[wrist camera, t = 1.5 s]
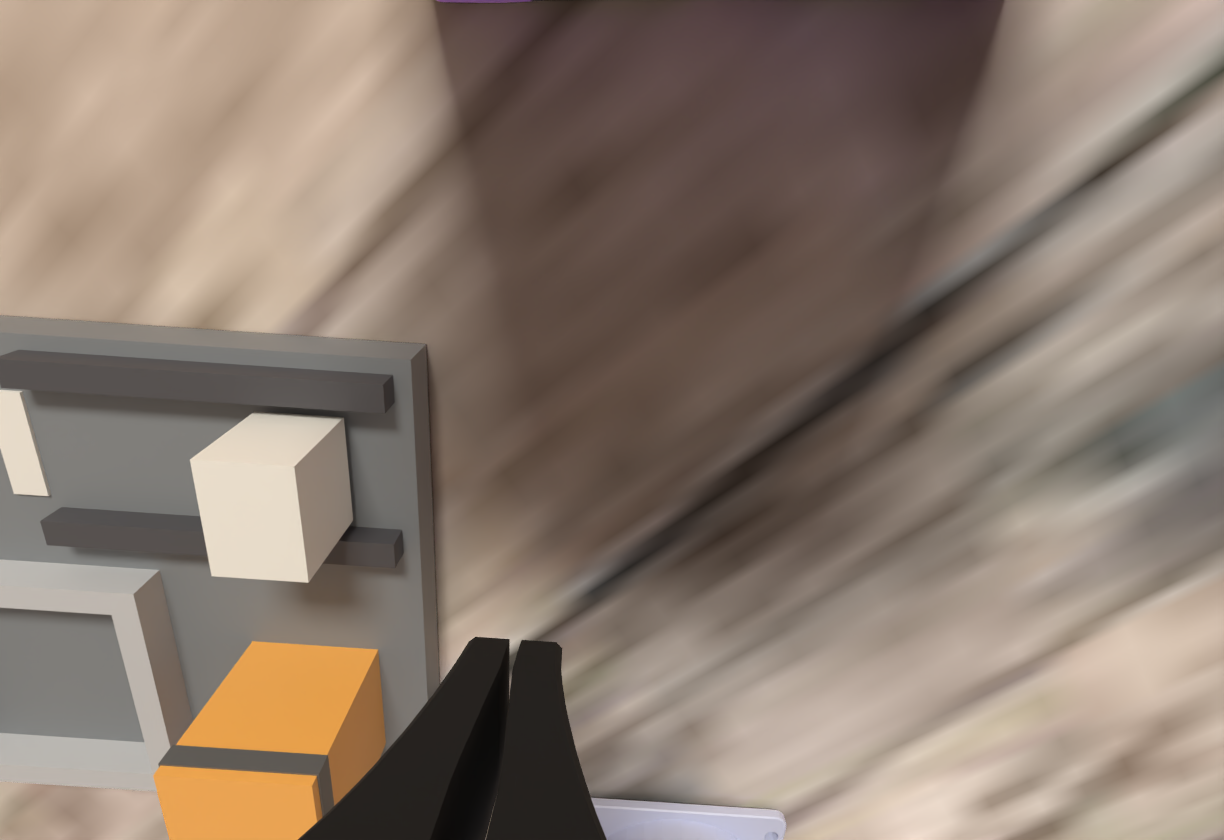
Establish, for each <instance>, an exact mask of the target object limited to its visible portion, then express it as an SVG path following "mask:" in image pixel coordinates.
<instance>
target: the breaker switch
mask: <svg viewBox="0 0 1224 840" xmlns="http://www.w3.org/2000/svg"><path fill="white" fill-rule="evenodd" d="M190 464H191V469H192V474H193V480H194V485H195V490H196V496H197V501H198V506H199V512H200V517H201V522H202V528H203V533H204V538H205V544H206V549H207V554H208V560H209V565H210V570H211V576H216V577H231V578H246V579H261V580H276V581H291V582H306V583H309V581H310V580H311V579H312V577H313V576H314V574H315V573H316V572H317V570H318V569H319V567H320V566H321V565H322V563H323V562H324V560H325V559H326V558H327V556H328V555H329V553H330V552H331V551H332V549H333V548H334V546H335V545H336V544H337V542H338V541H339V539H340V538H341V537H342V535H343V534H344V532H345V531H346V530H347V528H348V527H349V525H350V524H351V523H352V521H353V513H352V502H351V491H350V480H349V469H348V458H347V447H346V436H345V425H344V417H331V416H316V415H302V414H287V413H272V412H257V411H255V412H253V413H252V414H251V415H249V416H248V417H247V418H245V419H244V420H243V421H241V422H240V423H238V424H237V425H236V426H234V427H233V428H232V429H230V430H229V431H228V432H226V433H225V434H224V435H222V436H221V437H220V438H218V439H217V440H216V441H214V442H213V443H212V444H210V445H209V446H208V447H206V448H205V449H203V450H202V451H201V452H199V453H198V454H197V455H195V456H194V457H193V458H191V459H190Z"/></svg>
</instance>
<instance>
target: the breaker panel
mask: <svg viewBox="0 0 1224 840" xmlns="http://www.w3.org/2000/svg"><path fill="white" fill-rule="evenodd" d="M255 411H257V412H272V413H287V414H302V415H316V416H331V417H344V425H345V436H346V447H347V458H348V469H349V480H350V491H351V502H352V513H353V521H352V523H351V524H350V525H349V527H348V528H347V530H346V531H345V532H344V534H343V535H342V537H341V538H340V539H339V541H338V542H337V544H336V545H335V546H334V548H333V549H332V551H331V552H330V553H329V555H328V556H327V558H326V559H325V560H324V562H323V563H322V565H321V566H320V567H319V569H318V570H317V572H316V573H315V574H314V576H313V577H312V579H311V580H310V581H309V583H306V582H291V581H276V580H261V579H246V578H231V577H216V576H211V570H210V565H209V560H208V554H207V549H206V544H205V538H204V533H203V528H202V522H201V517H200V512H199V506H198V501H197V496H196V490H195V485H194V480H193V474H192V469H191V464H190V459H191V458H193V457H194V456H195V455H197V454H198V453H199V452H201V451H202V450H203V449H205V448H206V447H208V446H209V445H210V444H212V443H213V442H214V441H216V440H217V439H218V438H220V437H221V436H222V435H224V434H225V433H226V432H228V431H229V430H230V429H232V428H233V427H234V426H236V425H237V424H238V423H240V422H241V421H243V420H244V419H245V418H247V417H248V416H249V415H251V414H252V413H253V412H255ZM252 641H257V642H272V643H287V644H302V645H317V646H332V647H347V648H363V649H378V653H379V665H380V677H381V690H382V702H383V714H384V726H385V739H386V744H385V747H384V749H383V752H382V754H381V757H382V756H383V754H384V753H385V752H386V751H387V750H388V749H389V748H390V746H391V745H392V744H393V743H394V742H395V741H396V740H397V738H398V737H399V736H400V735H401V734H402V733H403V732H404V730H405V729H406V728H407V727H408V726H409V724H410V723H411V722H412V720H413V719H414V718H415V717H416V715H417V714H418V713H419V712H420V710H421V709H422V708H423V707H424V705H425V704H426V703H427V701H428V700H429V699H430V698H431V696H432V695H433V694H434V692H435V691H436V690H437V688H438V687H439V686H440V676H439V651H438V627H437V602H436V577H435V552H434V528H433V503H432V478H431V453H430V428H429V404H428V379H427V354H426V344H417V343H402V342H387V341H372V340H357V339H343V338H328V337H313V336H298V335H283V334H269V333H254V332H239V331H224V330H209V329H195V328H180V327H165V326H150V325H135V324H121V323H106V322H91V321H76V320H61V319H47V318H32V317H17V316H2V315H0V781H2V782H17V783H33V784H48V785H63V786H79V787H94V788H109V789H125V790H140V791H155V792H157V789H156V785H155V782H154V778H153V775H154V773H155V772H156V771H157V769H158V768H159V766H158V763H159V762H160V761H161V759H162V758H163V757H164V755H165V754H166V753H167V751H168V750H169V749H170V747H171V746H172V745H176V744H177V742H178V741H179V740H180V738H181V737H182V736H183V734H184V733H185V732H186V730H187V729H188V728H189V726H190V725H191V724H192V722H193V721H194V720H195V718H196V717H197V715H198V714H199V713H200V711H201V710H202V709H203V707H204V706H205V705H206V703H207V702H208V701H209V699H210V698H211V697H212V695H213V694H214V693H215V691H216V690H217V689H218V687H219V686H220V684H221V683H222V682H223V680H224V679H225V678H226V676H227V675H228V674H229V672H230V671H231V670H232V668H233V667H234V666H235V664H236V663H237V662H238V660H239V659H240V657H241V656H242V655H243V653H244V652H245V651H246V649H247V648H248V647H249V645H250V644H251V643H252ZM381 757H380V758H381Z"/></svg>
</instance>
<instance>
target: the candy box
mask: <svg viewBox="0 0 1224 840" xmlns="http://www.w3.org/2000/svg"><path fill="white" fill-rule="evenodd" d="M436 1H439V2H461V3H507V2H528V1H542V0H436Z"/></svg>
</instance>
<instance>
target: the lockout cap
mask: <svg viewBox="0 0 1224 840" xmlns="http://www.w3.org/2000/svg"><path fill="white" fill-rule="evenodd" d="M385 744H386V739H385V726H384V714H383V702H382V690H381V677H380V665H379V653H378V649H363V648H347V647H332V646H317V645H302V644H287V643H272V642H257V641H252V643H251V644H250V645H249V647H248V648H247V649H246V651H245V652H244V653H243V655H242V656H241V657H240V659H239V660H238V662H237V663H236V664H235V666H234V667H233V668H232V670H231V671H230V672H229V674H228V675H227V676H226V678H225V679H224V680H223V682H222V683H221V684H220V686H219V687H218V689H217V690H216V691H215V693H214V694H213V695H212V697H211V698H210V699H209V701H208V702H207V703H206V705H205V706H204V707H203V709H202V710H201V711H200V713H199V714H198V715H197V717H196V718H195V720H194V721H193V722H192V724H191V725H190V726H189V728H188V729H187V730H186V732H185V733H184V734H183V736H182V737H181V738H180V740H179V741H178V742H177V744H176V745H172V746H171V747H170V749H169V750H168V751H167V753H166V754H165V755H164V757H163V758H162V759H161V761H160V762H159V763H158V766H159V768H158V769H157V771H156V772H155V773H154V775H153V778H154V782H155V785H156V789H157V793H158V797H159V801H160V805H161V808H162V812H163V816H164V820H165V824H166V828H167V831H168V835H169V839H170V840H298V839H299V838H300V837H301V836H302V835H303V834H305V833H306V832H307V831H308V830H309V829H310V828H311V827H312V826H313V825H315V824H316V823H317V822H318V821H319V820H320V819H321V818H322V817H323V816H324V815H325V814H327V813H328V812H329V811H330V810H331V809H332V808H333V807H334V806H335V805H336V804H337V803H338V802H339V801H340V800H341V799H342V798H343V797H344V796H345V795H346V794H347V793H348V792H349V791H350V790H351V789H352V788H353V787H354V786H355V785H356V784H357V783H358V782H359V781H360V780H361V779H362V777H363V776H364V775H365V774H366V773H367V772H368V771H369V770H370V769H371V768H372V767H373V766H374V765H375V763H376V762H377V761H378V760H379V759H380V757H381V754H382V752H383V749H384V747H385Z"/></svg>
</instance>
